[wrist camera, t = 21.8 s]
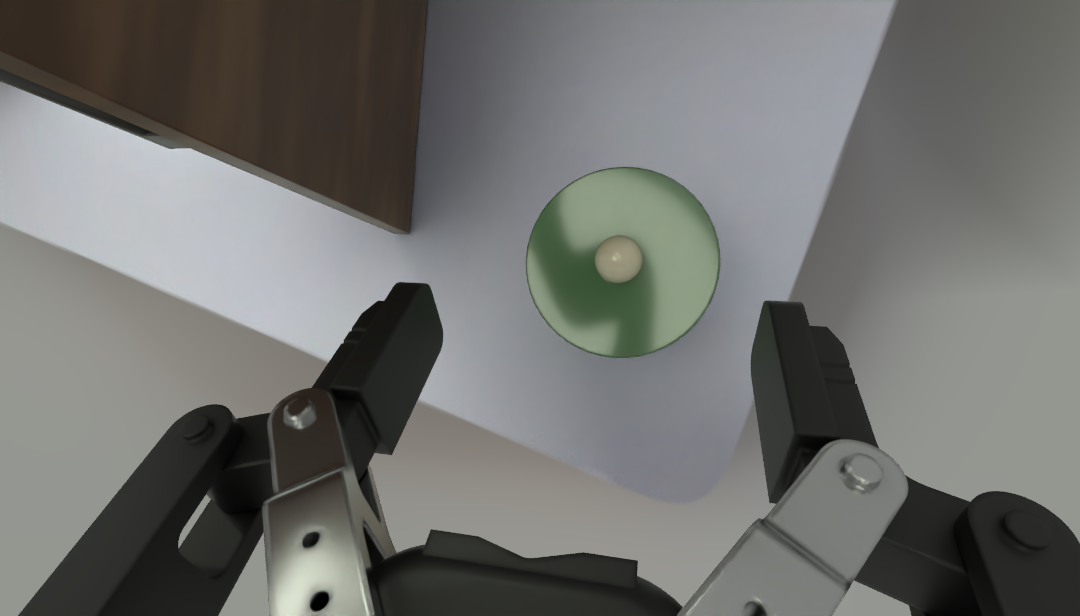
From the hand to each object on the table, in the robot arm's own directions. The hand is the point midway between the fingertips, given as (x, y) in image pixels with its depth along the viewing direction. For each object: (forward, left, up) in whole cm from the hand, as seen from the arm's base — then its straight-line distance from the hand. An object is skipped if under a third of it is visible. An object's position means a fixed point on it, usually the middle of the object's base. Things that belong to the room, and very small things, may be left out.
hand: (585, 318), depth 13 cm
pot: (0, +2, -14) cm, 14 cm away
